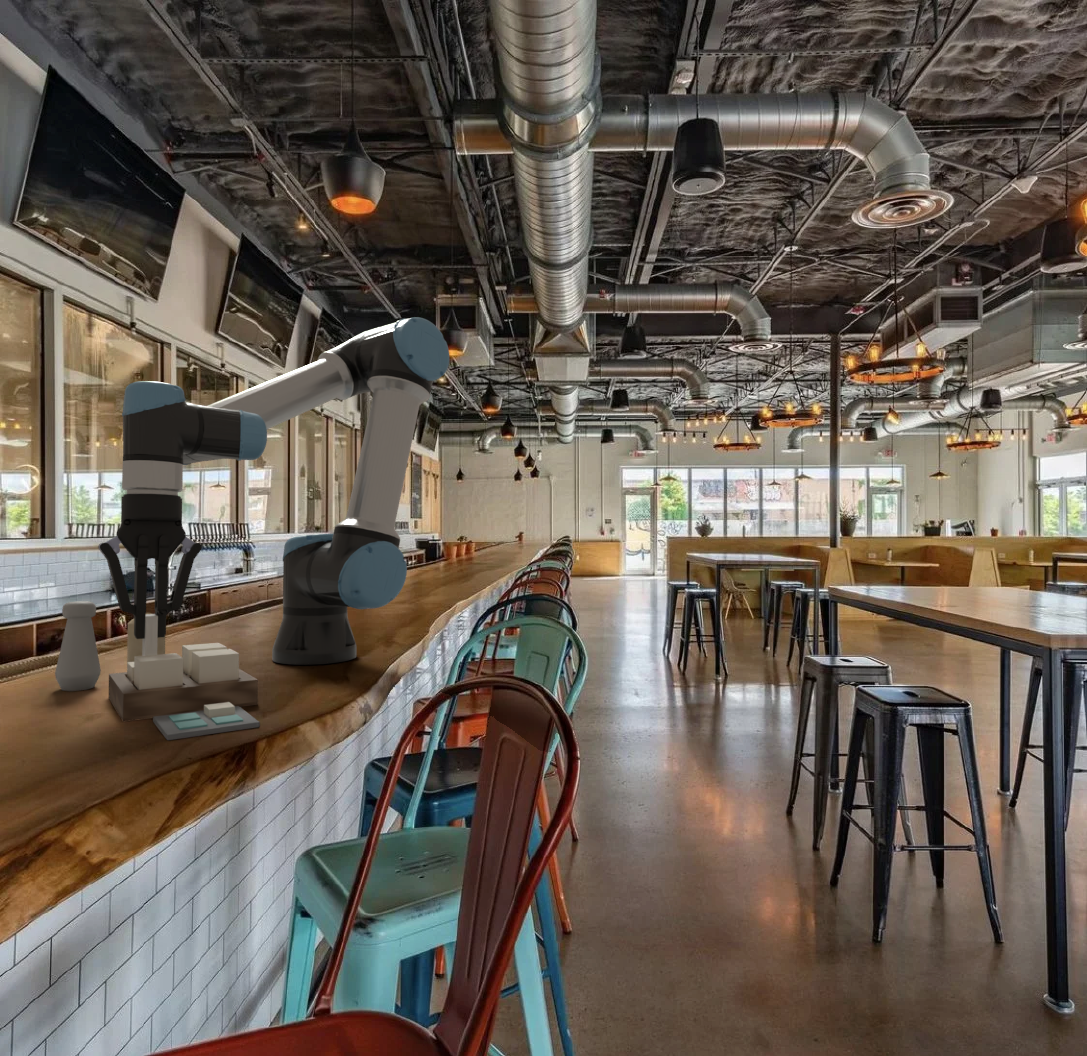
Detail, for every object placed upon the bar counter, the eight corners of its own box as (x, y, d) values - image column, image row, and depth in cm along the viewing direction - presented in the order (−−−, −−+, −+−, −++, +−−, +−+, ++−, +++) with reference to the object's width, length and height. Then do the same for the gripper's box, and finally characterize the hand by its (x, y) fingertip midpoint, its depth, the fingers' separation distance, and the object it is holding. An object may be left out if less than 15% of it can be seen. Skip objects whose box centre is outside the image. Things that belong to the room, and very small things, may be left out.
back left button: (218, 667, 108) (218, 642, 108) (226, 672, 104) (226, 646, 104) (181, 670, 105) (182, 645, 105) (188, 676, 101) (189, 649, 101)
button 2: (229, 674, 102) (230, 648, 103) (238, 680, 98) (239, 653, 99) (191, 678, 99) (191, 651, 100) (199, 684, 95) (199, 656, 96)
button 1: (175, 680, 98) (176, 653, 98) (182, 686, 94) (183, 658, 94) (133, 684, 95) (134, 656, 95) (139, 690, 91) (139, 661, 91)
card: (238, 710, 95) (238, 698, 95) (259, 726, 87) (259, 713, 87) (152, 721, 89) (153, 708, 89) (167, 740, 81) (167, 726, 81)
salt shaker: (46, 689, 106) (47, 602, 106) (86, 682, 111) (87, 599, 112) (68, 693, 104) (70, 603, 104) (108, 686, 109) (110, 601, 109)
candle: (128, 672, 120) (129, 612, 121) (165, 669, 123) (166, 611, 123) (125, 678, 115) (126, 615, 116) (163, 675, 118) (164, 614, 118)
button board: (228, 684, 111) (229, 662, 111) (257, 704, 98) (257, 679, 98) (108, 697, 101) (108, 673, 101) (123, 721, 88) (123, 694, 88)
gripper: (197, 496, 108) (194, 653, 107) (95, 492, 100) (92, 662, 99) (208, 494, 102) (205, 661, 101) (101, 490, 94) (97, 670, 93)
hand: (149, 661), depth 100 cm, fingers closed
